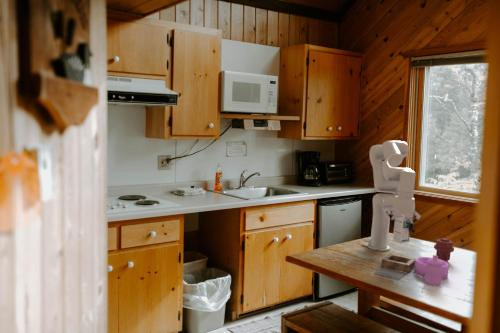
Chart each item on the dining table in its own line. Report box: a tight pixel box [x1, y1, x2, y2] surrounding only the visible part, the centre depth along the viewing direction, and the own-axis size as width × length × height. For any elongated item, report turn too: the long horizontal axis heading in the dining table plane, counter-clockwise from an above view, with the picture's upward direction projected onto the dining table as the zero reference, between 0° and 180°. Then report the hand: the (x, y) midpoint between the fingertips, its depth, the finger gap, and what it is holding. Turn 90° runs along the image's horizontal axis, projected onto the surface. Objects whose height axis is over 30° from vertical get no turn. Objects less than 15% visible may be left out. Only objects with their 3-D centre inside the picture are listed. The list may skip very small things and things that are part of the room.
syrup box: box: [392, 214, 411, 244], centre depth 245 cm, size 6×6×14 cm
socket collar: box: [380, 253, 416, 274], centre depth 247 cm, size 14×14×4 cm
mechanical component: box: [433, 237, 455, 263], centre depth 260 cm, size 12×10×10 cm
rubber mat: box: [373, 267, 407, 281], centre depth 235 cm, size 12×12×1 cm
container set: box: [413, 254, 450, 286], centre depth 233 cm, size 25×15×13 cm, turn 163°
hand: (401, 228), depth 245 cm, fingers closed on syrup box, 7 cm apart
